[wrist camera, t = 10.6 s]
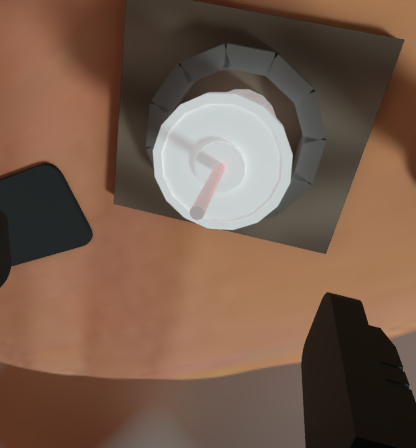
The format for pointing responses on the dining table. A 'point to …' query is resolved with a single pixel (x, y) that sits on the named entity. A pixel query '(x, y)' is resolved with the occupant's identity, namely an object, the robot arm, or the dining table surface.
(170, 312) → the dining table surface
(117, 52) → the dining table surface
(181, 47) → the ring holder
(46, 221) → the phone
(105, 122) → the dining table surface
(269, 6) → the dining table surface
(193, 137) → the beverage cup
